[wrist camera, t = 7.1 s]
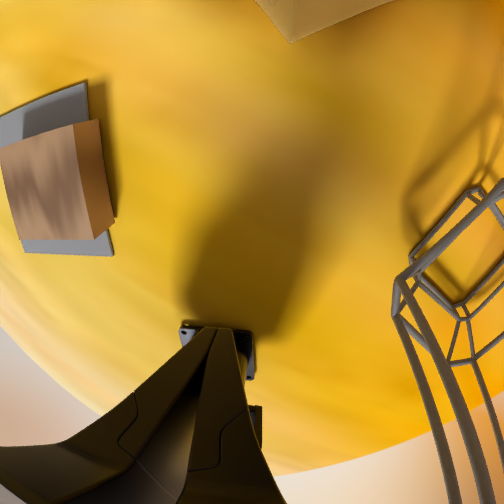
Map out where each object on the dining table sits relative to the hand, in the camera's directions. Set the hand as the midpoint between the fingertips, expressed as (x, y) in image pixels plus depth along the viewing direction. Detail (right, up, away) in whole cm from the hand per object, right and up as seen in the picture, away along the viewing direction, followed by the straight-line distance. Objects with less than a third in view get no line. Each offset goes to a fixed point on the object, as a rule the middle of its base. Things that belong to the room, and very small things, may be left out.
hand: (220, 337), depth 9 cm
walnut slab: (-10, +8, +9) cm, 15 cm away
